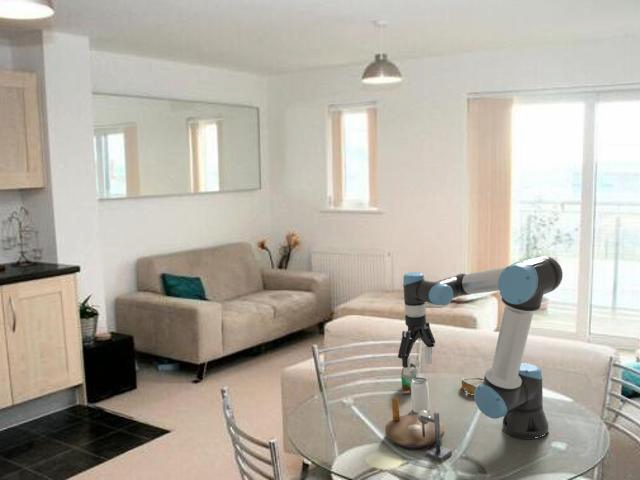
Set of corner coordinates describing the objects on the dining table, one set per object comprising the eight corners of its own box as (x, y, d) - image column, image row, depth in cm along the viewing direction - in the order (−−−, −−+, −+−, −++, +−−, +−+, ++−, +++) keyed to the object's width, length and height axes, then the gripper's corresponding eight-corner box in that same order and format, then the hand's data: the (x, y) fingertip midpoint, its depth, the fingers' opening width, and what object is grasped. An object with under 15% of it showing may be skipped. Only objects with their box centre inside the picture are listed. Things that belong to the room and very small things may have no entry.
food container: (418, 396, 256) (416, 372, 255) (402, 396, 258) (400, 372, 256) (419, 384, 268) (418, 361, 266) (404, 384, 269) (403, 361, 268)
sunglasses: (454, 388, 262) (455, 376, 262) (484, 384, 268) (485, 373, 268) (475, 400, 249) (476, 388, 249) (506, 396, 255) (508, 384, 255)
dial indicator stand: (451, 454, 211) (449, 412, 208) (441, 462, 206) (439, 419, 204) (425, 445, 218) (423, 405, 215) (415, 452, 214) (412, 411, 211)
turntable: (441, 417, 232) (440, 392, 230) (447, 445, 212) (445, 417, 210) (385, 419, 234) (383, 394, 232) (385, 447, 214) (383, 420, 212)
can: (409, 408, 246) (407, 379, 244) (424, 405, 248) (423, 375, 246) (416, 415, 240) (415, 385, 238) (432, 412, 242) (430, 381, 240)
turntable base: (447, 435, 223) (447, 429, 223) (420, 454, 212) (420, 448, 212) (410, 423, 234) (409, 417, 234) (382, 441, 223) (381, 435, 223)
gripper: (426, 304, 249) (428, 356, 253) (386, 321, 231) (389, 377, 235) (443, 307, 244) (445, 360, 248) (403, 325, 226) (406, 382, 230)
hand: (417, 369), depth 241 cm, fingers open, 13 cm apart
